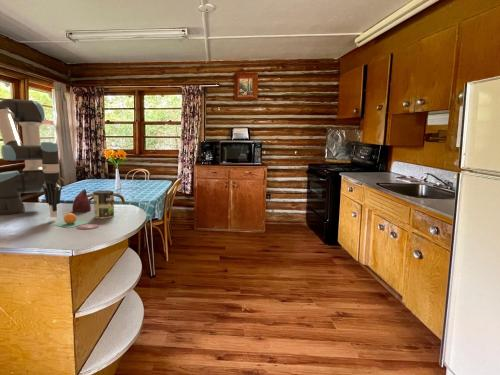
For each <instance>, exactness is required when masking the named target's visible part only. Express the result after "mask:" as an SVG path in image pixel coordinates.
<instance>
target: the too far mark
mask: <svg viewBox="0 0 500 375" xmlns="http://www.w3.org/2000/svg"><path fill="white" fill-rule="evenodd" d="M99 227H100V225H99V224H94V223H93V224H92V223H88V224H84V225H80V226H76V229H77V230H82V231H86V230H94V229H98V228H99Z"/></svg>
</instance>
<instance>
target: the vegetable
mask: <svg viewBox="0 0 500 375" xmlns="http://www.w3.org/2000/svg"><path fill="white" fill-rule="evenodd" d="M71 207H72V208H71V209H72V212H73V213H80V212H81V213H87V211H88V212H90V210H92V206H91V201H90V200H89V198H88V194H87V190H86V188H83V189H82V190H81V192H79V193H78V194H76V196H75V198H74V200H73V202H72V206H71Z"/></svg>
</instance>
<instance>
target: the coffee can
mask: <svg viewBox="0 0 500 375" xmlns="http://www.w3.org/2000/svg"><path fill="white" fill-rule="evenodd" d="M92 193H93V211H94V212H93V213H94V218H95V219H103V220H104V219H109V218H110V219H111V218H114V217H115V203H114V200H115V199H114V191H113V190H96V191H93V192H92Z"/></svg>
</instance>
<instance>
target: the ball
mask: <svg viewBox="0 0 500 375" xmlns="http://www.w3.org/2000/svg"><path fill="white" fill-rule="evenodd" d="M63 220H64V222H66V223H67V224H73V223H74V222H75V221H76V220H77V216H76V214H74V212H73V213H72V212H68V213H67V214H64V217H63Z"/></svg>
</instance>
